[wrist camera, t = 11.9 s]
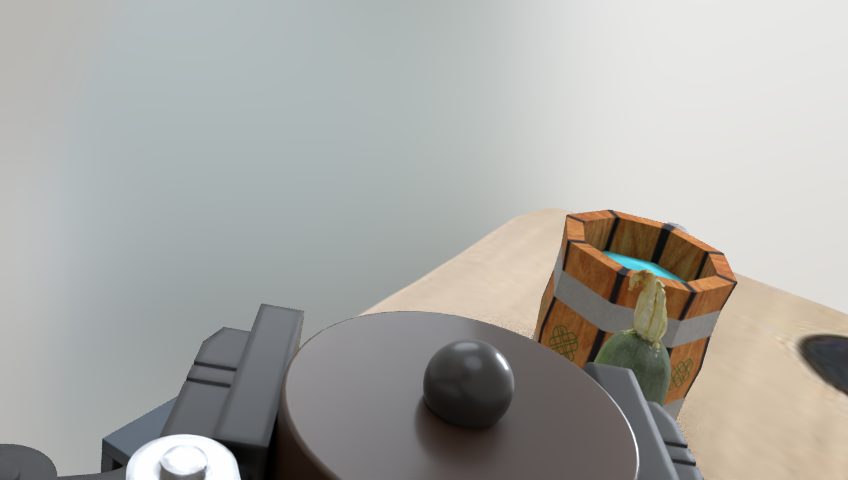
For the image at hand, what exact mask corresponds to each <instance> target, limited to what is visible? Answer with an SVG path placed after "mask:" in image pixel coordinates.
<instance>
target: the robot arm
mask: <svg viewBox="0 0 848 480" xmlns="http://www.w3.org/2000/svg"><path fill="white" fill-rule="evenodd" d="M303 319H304V311H301V310H296V309H290V308H284V307H279V306H273V305H267V304H261V306H260V309H259V311H258V314H257V316H256V319H255V322H254V324H253V327H252V330H251V332H250V331H243V330H237V329H232V328H226V327H223V328H222V329H220V330H219V331H218V332H216V333H215V334H213V335H212V336H210V337H209V338H208V339H206V340H205V341H203V344H202V345H201V347H200V350H199V352H198V354H197V356H196V358H195V360H194V364H193V365H192V367H191V369H190V371H189V373H188V376H187V379H186V381H185V382H184V384H183V386H182V389H181V391H180V393H179V395H178V397H177V399H176V401H175V404H174V406H173V408H172V410H171V412H170V414H169V417H168V419H167V421H166V423H165V425H164V427H163V430H162V432H161V434H160V436H159V438H158V439H156V440H153V441H151V442H149V443H147V444H145V445H144V446H142V447H141V448H139V449H138V450H137V451H136V452H135V453H134V454H133V456H132V457H131V459H130V460H129V462H128V465H127V466H125V467H123V468H120V469H117V470H113V471H109V472H105V473H97V474H88V475H75V476H63V477H57V471H56V468H55V466H54V464H53V462H52V461H51V460H50V459H49V458H48V457H47V456H46V455H44V454H43V453H41V452H40V451H38V450H35V449H33V448H30V447H26V446H22V445H15V444H0V480H266V479H267V473H268V467H269V461H270V454H271V448H272V442H273V436H274V429H275V423H276V417H277V411H278V404H279V398H280V392H281V386H282V381H283V376H284V373H285V371H286V369H287V366H288V364H289V362H290V361H291V360H292V358H293V357H294V355H295V354H296V352H297V351H298V350H299V343H300V338H301V331H302V325H303ZM582 370H583V371H584V372H585V373H587V374H588V375H589V376H590V377H591V378H593V379H594V380H595V381H596V382H597V383H598V384H599V385H600V386H601V387H602V388H603V389H604V390H605V391H606V392H607V393H608V394H609V395H610V396H611V397H612V399H613V400H614V401H615V402H616V404H617V405H618V406H619V407H620V409H621V410H622V412H623V414H624V415H625V417H626V418H627V420H628V422H629V424H630V426H631V428H632V430H633V433H634V435H635V438H636V442H637V446H638V449H639V459H640V473H639V479H638V480H704V478H703V476H702V474H701V472H700V470H699V468H698V467H696V461H695V459H694V457H693V455H692V453H691V451H690V449H687V446H688V444H687V442H686V440H685V438H684V436H683V434H682V431H681V429H680V427H679V425H678V423H677V422H676V421H675V420H674V419H673V418H672V417H671V416H670V415H669V414H668V413H667V412H666V411H665V410H664V409H663V408H662V407H661V406H660V405H659V404H658V403H657V402H651V401H646V400H645V398H644V396H643V393H642V391H641V389H640V386H639V384H638V382H637V379H636V377H635V375H634V373H633V371H632V370H631V369H628V368H622V367H616V366H610V365H605V364H599V363H593V362H588V363H586V364H585V366H584V367H583V369H582Z"/></svg>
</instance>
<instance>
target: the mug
mask: <svg viewBox="0 0 848 480" xmlns="http://www.w3.org/2000/svg"><path fill="white" fill-rule="evenodd" d="M643 269H648V270H651V271H652V272H654V273H655V274H656V276H657V278H658V279H659V280H660V281H661V282H662V283H663V284H664V285H665V287H663V289H664V291H665V296H666V303H665V306H666V310H667V320H668V321H667V331H666V333H665V334H664V336H662V337H661V342H662V343H663V345H664V346H665V348H666V350H667V351H668V355H669V358H670V362H671V376H670V383H669V387H668V391H667V395H666V398H665V401H664V404H663V407H662V408H663V409H664V410H665V411H666V412H667V413H668V414H669V415H670V416H671V417H672V418H673V419H674V420H675V421H676V419H677V416H678V414H679V411H680V409H681V406H682V404H683V402H684V399H685V397H686V395H687V393H688V391H689V390H690V388H691V386H692V384H693V382H694V381H695V379H696V377H697V375H698V373H699V371H700V370H701V367H702V364H703V360H704V357H705V354H706V350H707V347H708V343H709V340H710V336H711V334H712V331H713V329H714V327H715V324H716V322H717V319H718V317H719V315H720V312H721V310H722V308H723V306H724V305H725V303H726V301H727V300H728V298H729V296H730V295H731V293H732V291H733V289H734V288H735V286H736V284H737V281H736V279H735V276H734V274H733V272H732V270H731V268H730V266H729V264H728V262H727V260H726V258H725V256H724V254H723V253H722V252H719V251H718V250H716V249H714V248H712V247H710V246H709V245H707V244H705V243H703V242H701V241H699V240H698V239H696V238H694V237H692V236H690V235H689V233H688V231H687V230H686V229H685V228H683V227H682V226H680V225H678V224H674V223H667V224H666V223H661V222H657V221H653V220H649V219H645V218H641V217H637V216H633V215H629V214H625V213H621V212H617V211H613V210H603V211H595V212H587V213H578V214H570V215H567V216H566V222H565V228H564V233H563V239H562V244H561V248H560V251H559V254H558V257H557V261H556V264H555V267H554V270H553V272H552V275H551V277H550V280H549V282H548V284H547V287H546V289H545V292H544V294H543V296H542V300H541V305H540V310H539V315H538V320H537V325H536V329H535V332H534V335H533V339H532V340H534V341H536V342H538V343H540V344H542V345H544V346H545V347H547V348H549V349H551V350H553V351H555V352H556V353H558V354H560V355H561V356H563V357H565V358H566V359H568V360H569V361H571V362H572V363H573V364H575V365H576V366H578V367H579V368H580V369H583V367H584V366H585V364H586V363H588V362H593V363H594V361H595V359H596V357H597V355H598V353H599V351H600V349H601V348H602V346H603V345H604V343H605V342H606V341H607V340H608V339H609V338H610V337H611V336H612V335H614V334H616V333H618V332H620V331H621V330H630V329H633V327H632V326H629V324H630V323H632V324H633V321H634V313H635V309H636V305H637V301H638V298H639V295H640V293H641V292H642V291H643V287H642V286H641V285H640V282H639V283H638V284H639V286H638V287H637V288H634V289H633V290H632V291H630V290H628V288H629V287H630V286H629V280H630V277H631V276H632V275H633V273H635V272H637V271H638V270H643Z"/></svg>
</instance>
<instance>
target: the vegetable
mask: <svg viewBox="0 0 848 480" xmlns="http://www.w3.org/2000/svg"><path fill="white" fill-rule="evenodd" d="M639 282H640V285H641V286H642V287H643V291H642V292H641V293H640V295H639V298H638V301H637V305H636V309H635V313H634V321H633V324H632V323H630V324H629V326H632V327H633V329H630V330H621V331H620V332H618V333H616V334H614V335H612V336H611V337H610V338H609V339H608V340H607V341H606V342H605V343H604V345H603V346H602V348H601V349H600V351H599V353H598V355H597V357H596V359H595V361H594V363H599V364H605V365H610V366H616V367H622V368H628V369H631V370H632V371H633V373H634V375H635V377H636V379H637V382H638V384H639V386H640V389H641V391H642V393H643V396H644V398H645V400H646V401H651V402H657V403H658V404H659V405H660V406H661V407H663V404H664V401H665V398H666V395H667V391H668V387H669V383H670V376H671V362H670V358H669V355H668V351H667V350H666V348H665V346H664V345H663V343H662V342H661V337H662V336H664V334H665V333H666V331H667V321H668V320H667V310H666V306H665V303H666V296H665V291H664V289H663V287H665V285H664V284H663V283H662V282H661V281H660V280H659V279H658V278H657V276H656V274H655V273H654V272H652V271H651V270H648V269H643V270H638V271H637V272H635V273H633V275H632V276H631V277H630V280H629V286H630V287H629V288H628V290H630V291H632V290H633V289H634V288H637V287H638V286H639V284H638V283H639Z"/></svg>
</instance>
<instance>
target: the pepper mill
mask: <svg viewBox="0 0 848 480" xmlns="http://www.w3.org/2000/svg"><path fill="white" fill-rule="evenodd" d="M639 473H640V459H639V449H638V446H637V442H636V438H635V435H634V433H633V430H632V428H631V426H630V424H629V422H628V420H627V418H626V417H625V415H624V414H623V412H622V410H621V409H620V407H619V406H618V405H617V404H616V402H615V401H614V400H613V399H612V397H611V396H610V395H609V394H608V393H607V392H606V391H605V390H604V389H603V388H602V387H601V386H600V385H599V384H598V383H597V382H596V381H595V380H594V379H593V378H591V377H590V376H589V375H588V374H587V373H585V372H584V371H583V370H582V369H580V368H579V367H578V366H576V365H575V364H573V363H572V362H571V361H569V360H568V359H566V358H565V357H563V356H561V355H560V354H558V353H556V352H555V351H553V350H551V349H549V348H547V347H545V346H544V345H542V344H540V343H538V342H536V341H534V340H532V339H529V338H527V337H525V336H522V335H520V334H518V333H515V332H513V331H510V330H507V329H504V328H501V327H498V326H496V325H492V324H489V323H485V322H482V321H478V320H474V319H469V318H465V317H460V316H455V315H448V314H442V313H432V312H420V311H397V312H382V313H375V314H368V315H363V316H359V317H355V318H351V319H348V320H345V321H342V322H340V323H337V324H334V325H332V326H330V327H328V328H326V329H324V330H322V331H320V332H319V333H318V334H316V335H315V336H313V337H312V338H310V339H309V340H308V341H307V342H306V343H305V344H304V345H303V346H302V347H301V348H300V349H299V350H298V351H297V352H296V354H295V355H294V357H293V358H292V360H291V361H290V362H289V364H288V366H287V369H286V371H285V373H284V376H283V381H282V386H281V392H280V398H279V404H278V411H277V417H276V423H275V429H274V436H273V442H272V448H271V454H270V461H269V467H268V473H267V479H266V480H638V479H639Z"/></svg>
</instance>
